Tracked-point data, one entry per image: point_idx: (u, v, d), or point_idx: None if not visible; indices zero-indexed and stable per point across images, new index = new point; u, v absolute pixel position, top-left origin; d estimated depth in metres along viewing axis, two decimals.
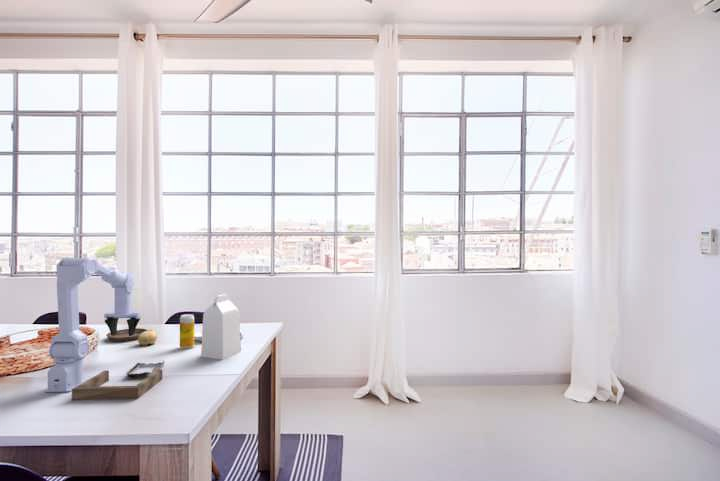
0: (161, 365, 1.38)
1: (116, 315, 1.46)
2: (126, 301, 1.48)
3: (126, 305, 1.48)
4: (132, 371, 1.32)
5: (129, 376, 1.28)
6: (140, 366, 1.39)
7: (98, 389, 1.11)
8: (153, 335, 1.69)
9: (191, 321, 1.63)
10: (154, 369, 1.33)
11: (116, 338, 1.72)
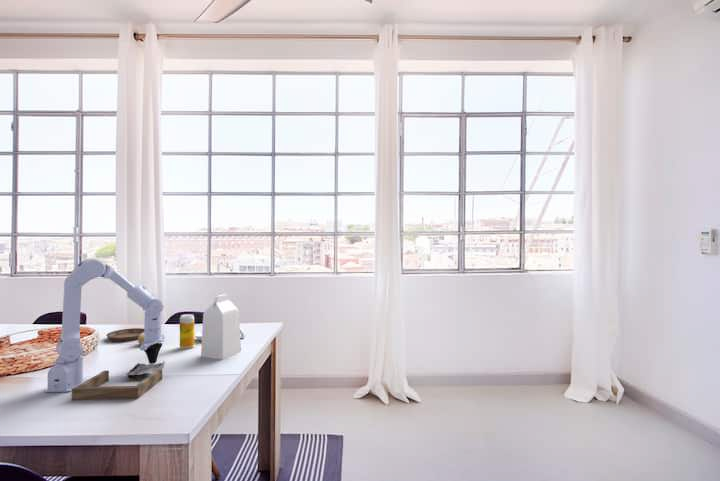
0: (161, 366, 1.37)
1: None
2: (150, 328, 1.37)
3: (146, 332, 1.37)
4: (132, 372, 1.31)
5: (129, 377, 1.27)
6: (140, 366, 1.38)
7: (98, 389, 1.11)
8: None
9: (191, 321, 1.63)
10: (154, 370, 1.31)
11: (116, 338, 1.72)
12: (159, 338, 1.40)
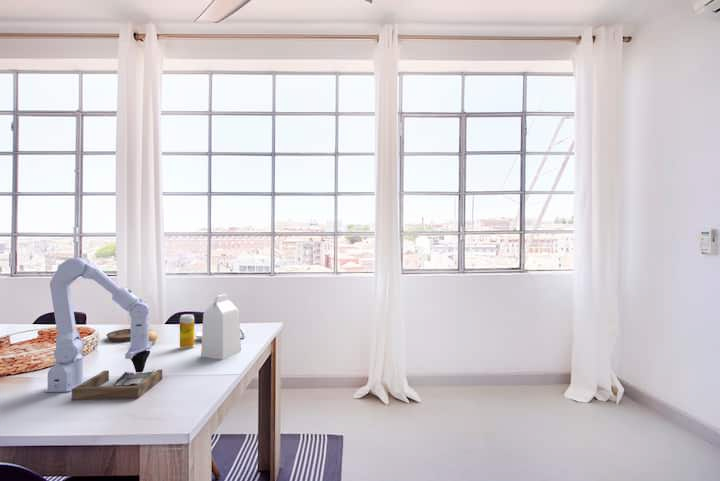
0: None
1: None
2: (134, 334, 1.28)
3: (132, 339, 1.28)
4: (119, 382, 1.22)
5: None
6: (128, 375, 1.29)
7: (98, 389, 1.11)
8: (153, 335, 1.69)
9: (191, 321, 1.63)
10: (143, 379, 1.22)
11: (116, 338, 1.72)
12: (146, 345, 1.30)
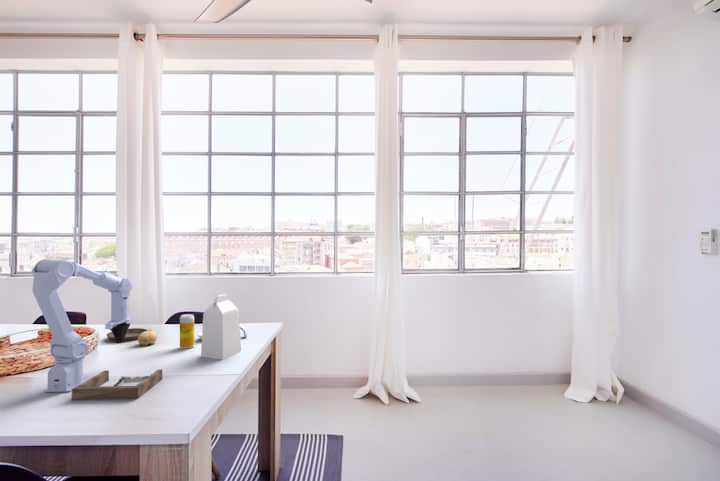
0: None
1: None
2: (121, 307, 1.38)
3: (112, 311, 1.37)
4: None
5: None
6: (125, 380, 1.25)
7: (98, 389, 1.11)
8: (153, 335, 1.69)
9: (191, 321, 1.63)
10: None
11: None
12: (126, 318, 1.40)
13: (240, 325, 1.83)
